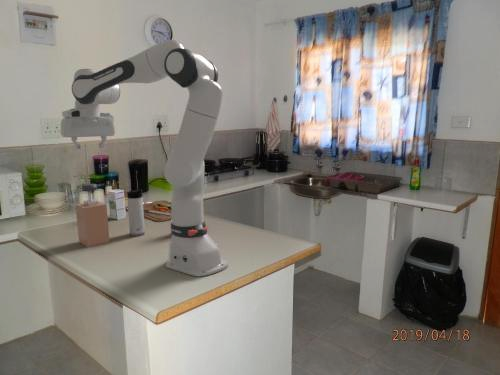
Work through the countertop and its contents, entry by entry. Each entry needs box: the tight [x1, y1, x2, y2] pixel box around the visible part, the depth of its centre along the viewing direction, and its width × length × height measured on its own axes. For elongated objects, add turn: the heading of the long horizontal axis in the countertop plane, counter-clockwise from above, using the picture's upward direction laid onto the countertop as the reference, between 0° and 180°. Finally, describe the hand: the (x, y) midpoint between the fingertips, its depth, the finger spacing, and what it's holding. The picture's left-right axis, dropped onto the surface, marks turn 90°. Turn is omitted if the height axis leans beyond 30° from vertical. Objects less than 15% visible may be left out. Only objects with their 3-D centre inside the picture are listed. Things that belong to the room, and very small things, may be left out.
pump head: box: [81, 183, 98, 202], centre depth 157 cm, size 9×6×12 cm, turn 44°
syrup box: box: [107, 188, 127, 221], centre depth 195 cm, size 6×6×14 cm
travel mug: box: [126, 189, 146, 237], centre depth 167 cm, size 6×7×20 cm
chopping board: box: [125, 200, 172, 223], centre depth 210 cm, size 45×27×3 cm, turn 44°
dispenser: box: [75, 198, 111, 248], centre depth 157 cm, size 9×9×18 cm
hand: (90, 148), depth 152 cm, fingers open, 8 cm apart
